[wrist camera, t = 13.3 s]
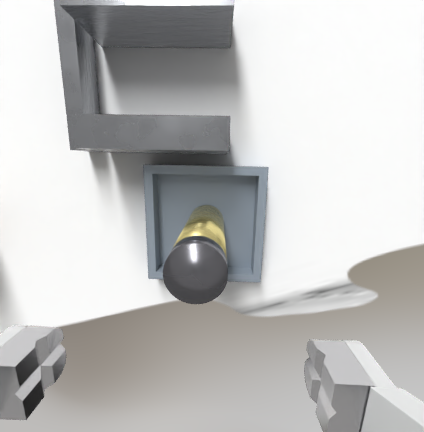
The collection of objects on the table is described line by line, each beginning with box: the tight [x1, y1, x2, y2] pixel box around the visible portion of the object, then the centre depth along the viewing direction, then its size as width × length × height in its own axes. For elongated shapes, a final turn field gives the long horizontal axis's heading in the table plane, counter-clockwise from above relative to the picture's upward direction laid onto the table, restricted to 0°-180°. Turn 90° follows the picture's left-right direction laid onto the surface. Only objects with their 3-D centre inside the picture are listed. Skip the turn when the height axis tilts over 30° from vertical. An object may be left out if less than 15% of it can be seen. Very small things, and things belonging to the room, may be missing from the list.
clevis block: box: [54, 0, 234, 154], centre depth 20 cm, size 14×12×6 cm
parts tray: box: [143, 165, 268, 282], centre depth 24 cm, size 12×12×2 cm
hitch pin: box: [163, 205, 228, 304], centre depth 19 cm, size 4×4×12 cm
